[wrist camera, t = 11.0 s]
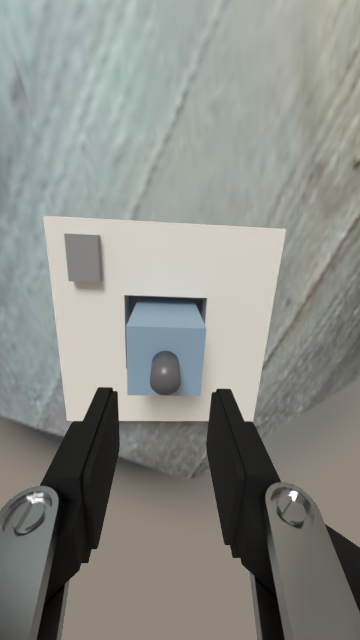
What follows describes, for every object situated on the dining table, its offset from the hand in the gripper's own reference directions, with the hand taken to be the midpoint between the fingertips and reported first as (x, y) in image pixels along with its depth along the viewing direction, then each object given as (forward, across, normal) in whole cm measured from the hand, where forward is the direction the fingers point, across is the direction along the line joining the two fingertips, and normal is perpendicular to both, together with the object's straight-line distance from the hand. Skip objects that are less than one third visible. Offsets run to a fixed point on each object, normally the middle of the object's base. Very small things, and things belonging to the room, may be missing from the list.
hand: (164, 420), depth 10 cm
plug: (+12, 0, 0) cm, 12 cm away
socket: (+12, 0, 0) cm, 12 cm away
